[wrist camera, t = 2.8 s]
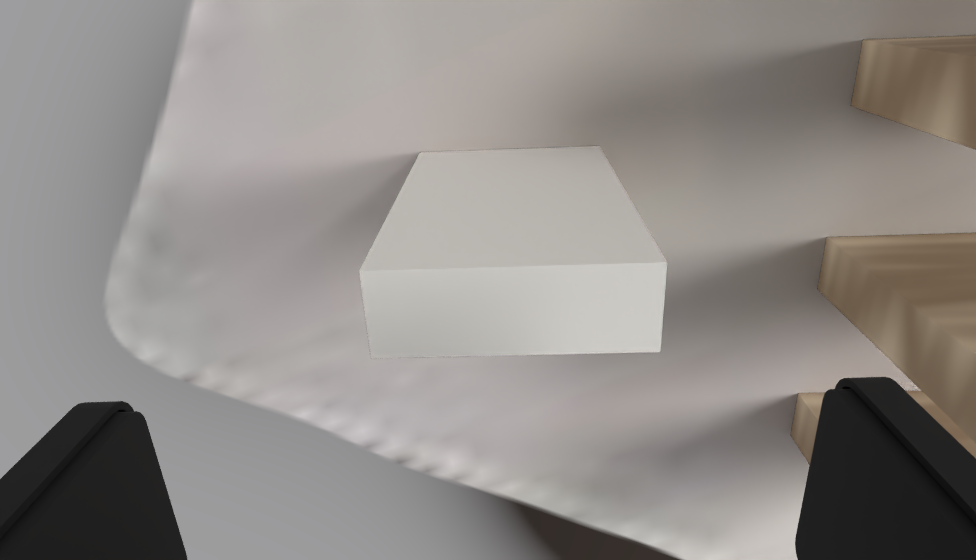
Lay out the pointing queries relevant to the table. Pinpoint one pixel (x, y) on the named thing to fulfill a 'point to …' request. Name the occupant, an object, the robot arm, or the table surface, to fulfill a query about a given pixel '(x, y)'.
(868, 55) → the domino
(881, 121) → the table surface
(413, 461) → the table surface
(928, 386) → the domino
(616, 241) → the cream domino
